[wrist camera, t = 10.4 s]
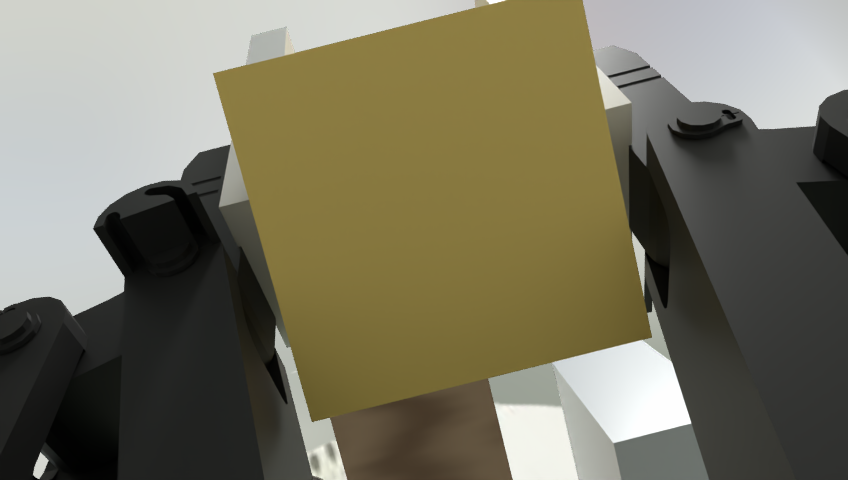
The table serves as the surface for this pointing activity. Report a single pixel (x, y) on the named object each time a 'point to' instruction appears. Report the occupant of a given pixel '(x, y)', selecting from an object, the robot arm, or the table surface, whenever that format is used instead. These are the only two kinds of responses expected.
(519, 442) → the table surface
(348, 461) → the stand
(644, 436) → the grey slab
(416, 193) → the block
